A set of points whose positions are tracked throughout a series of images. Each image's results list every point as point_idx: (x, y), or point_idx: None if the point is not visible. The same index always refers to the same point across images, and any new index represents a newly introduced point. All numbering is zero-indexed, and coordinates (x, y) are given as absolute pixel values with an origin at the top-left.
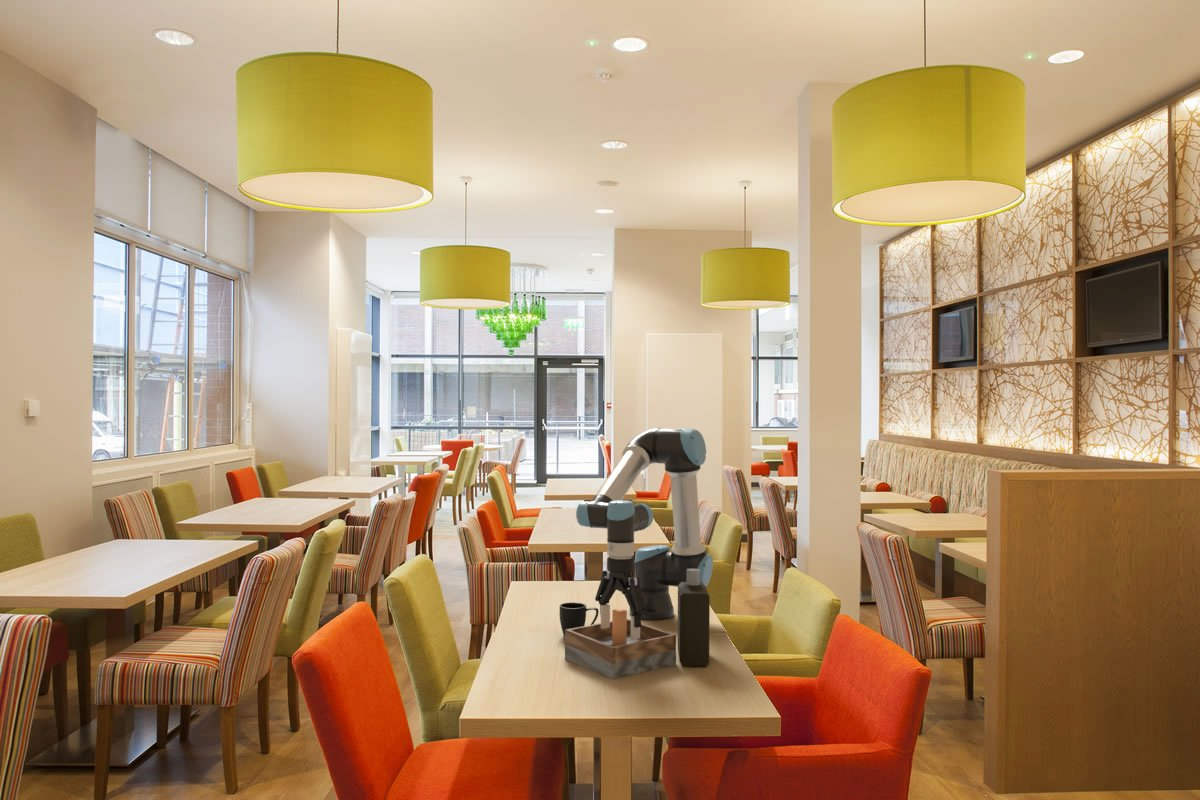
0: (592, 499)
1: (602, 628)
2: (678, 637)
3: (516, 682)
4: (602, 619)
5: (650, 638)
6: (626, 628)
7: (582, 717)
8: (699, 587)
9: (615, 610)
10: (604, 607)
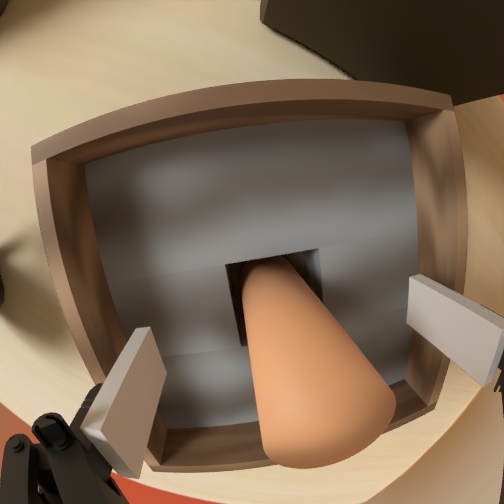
0: None
1: (165, 372)
2: (347, 28)
3: (286, 487)
4: (156, 407)
5: (278, 117)
6: (332, 316)
7: (453, 422)
8: None
9: (306, 454)
10: (134, 456)
